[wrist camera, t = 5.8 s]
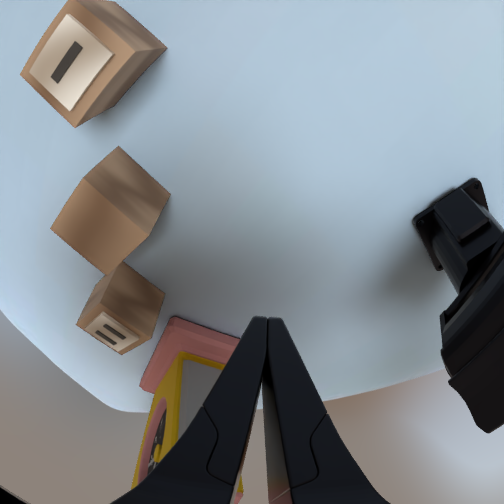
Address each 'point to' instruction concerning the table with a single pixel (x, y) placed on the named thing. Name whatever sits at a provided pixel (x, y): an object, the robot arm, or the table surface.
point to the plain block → (111, 211)
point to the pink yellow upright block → (180, 387)
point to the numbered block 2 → (122, 309)
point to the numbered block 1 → (90, 58)
